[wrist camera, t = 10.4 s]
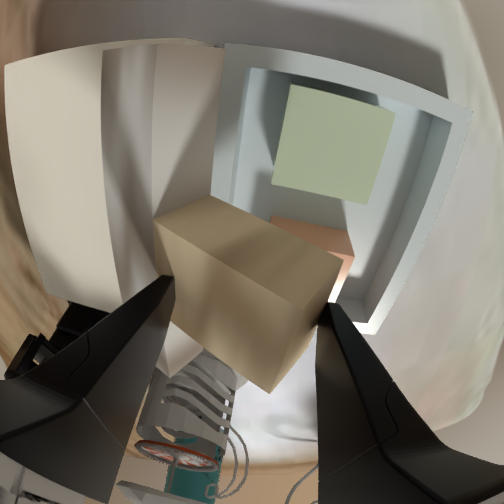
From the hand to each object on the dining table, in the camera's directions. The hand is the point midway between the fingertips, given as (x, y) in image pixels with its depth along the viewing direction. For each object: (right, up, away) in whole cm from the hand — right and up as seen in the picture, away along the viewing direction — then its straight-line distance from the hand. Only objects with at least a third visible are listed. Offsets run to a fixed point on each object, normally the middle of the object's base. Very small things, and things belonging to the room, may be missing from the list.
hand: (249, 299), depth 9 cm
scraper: (-5, +3, +2) cm, 6 cm away
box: (+4, +4, +7) cm, 9 cm away
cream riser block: (-8, +6, +7) cm, 12 cm away
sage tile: (+4, +6, +2) cm, 7 cm away
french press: (-4, -10, +18) cm, 22 cm away
